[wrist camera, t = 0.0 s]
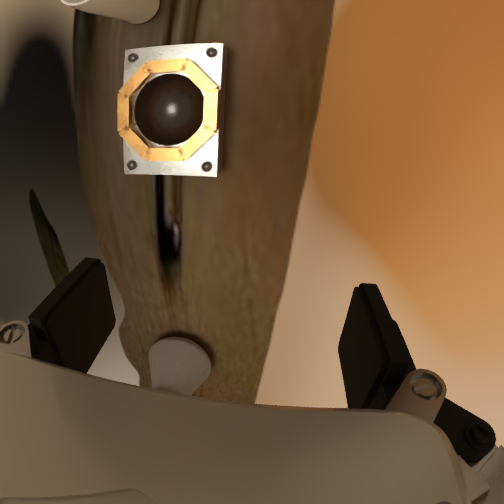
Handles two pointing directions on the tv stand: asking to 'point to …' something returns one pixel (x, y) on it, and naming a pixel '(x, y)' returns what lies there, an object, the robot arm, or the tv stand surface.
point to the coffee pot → (178, 365)
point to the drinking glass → (118, 8)
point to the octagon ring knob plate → (174, 109)
